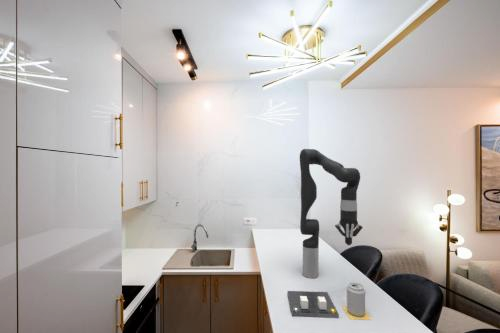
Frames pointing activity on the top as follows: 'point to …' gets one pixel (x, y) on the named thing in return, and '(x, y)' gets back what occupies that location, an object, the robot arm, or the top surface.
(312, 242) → the robot arm
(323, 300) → the block
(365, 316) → the pad
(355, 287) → the can
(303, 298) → the block
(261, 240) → the top surface
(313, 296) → the panel
